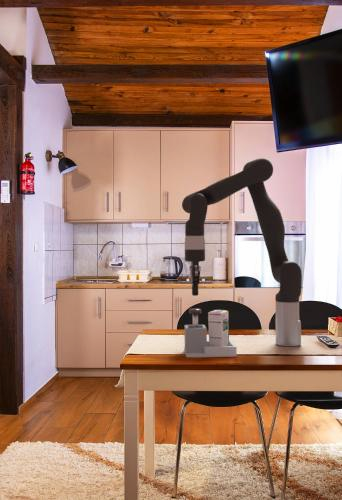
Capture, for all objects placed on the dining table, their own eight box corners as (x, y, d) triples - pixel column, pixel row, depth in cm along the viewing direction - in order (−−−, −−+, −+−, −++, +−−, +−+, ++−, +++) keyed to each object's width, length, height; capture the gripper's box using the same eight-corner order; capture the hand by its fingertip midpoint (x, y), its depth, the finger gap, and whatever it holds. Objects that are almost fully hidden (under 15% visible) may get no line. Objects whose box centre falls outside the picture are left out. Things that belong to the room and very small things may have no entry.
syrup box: (222, 352, 171) (222, 312, 171) (208, 350, 174) (208, 311, 174) (229, 349, 176) (229, 310, 176) (215, 347, 179) (214, 309, 179)
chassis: (231, 349, 181) (231, 323, 181) (236, 356, 170) (236, 328, 170) (184, 350, 180) (184, 324, 180) (186, 357, 169) (186, 329, 169)
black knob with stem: (200, 330, 177) (200, 308, 177) (201, 333, 173) (201, 310, 173) (188, 331, 177) (188, 308, 177) (189, 333, 173) (189, 310, 173)
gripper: (207, 248, 168) (207, 297, 168) (203, 248, 181) (203, 293, 182) (186, 248, 168) (186, 297, 168) (183, 248, 181) (183, 293, 181)
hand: (195, 295), depth 175 cm, fingers closed
